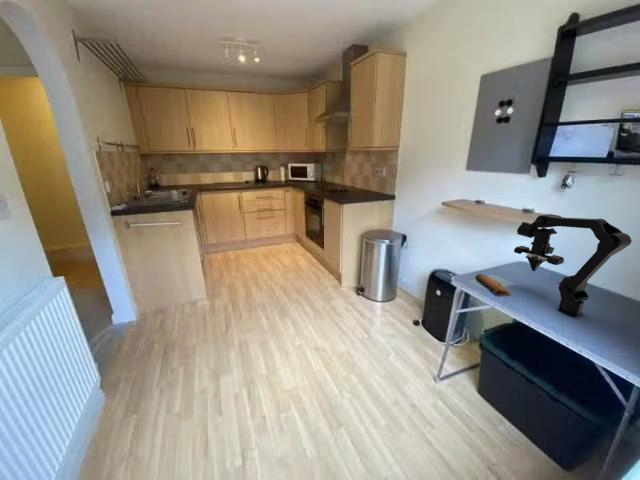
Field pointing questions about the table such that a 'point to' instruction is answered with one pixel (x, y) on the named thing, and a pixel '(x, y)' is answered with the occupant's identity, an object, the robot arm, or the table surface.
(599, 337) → the table surface
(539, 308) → the table surface
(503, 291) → the sunglasses case
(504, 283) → the mat
